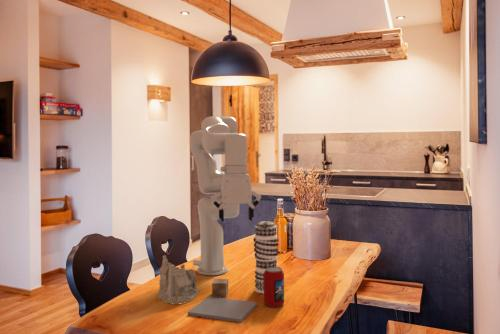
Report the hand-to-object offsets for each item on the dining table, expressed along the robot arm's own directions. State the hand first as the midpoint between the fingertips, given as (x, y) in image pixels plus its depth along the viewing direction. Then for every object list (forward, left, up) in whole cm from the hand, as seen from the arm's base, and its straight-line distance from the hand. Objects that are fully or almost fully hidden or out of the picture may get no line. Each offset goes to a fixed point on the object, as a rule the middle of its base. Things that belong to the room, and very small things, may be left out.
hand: (236, 220), depth 152 cm
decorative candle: (+6, +13, -28) cm, 31 cm away
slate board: (-1, -10, -28) cm, 29 cm away
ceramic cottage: (-21, -2, -28) cm, 35 cm away
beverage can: (+13, 0, -28) cm, 31 cm away
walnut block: (-8, +3, -28) cm, 29 cm away
